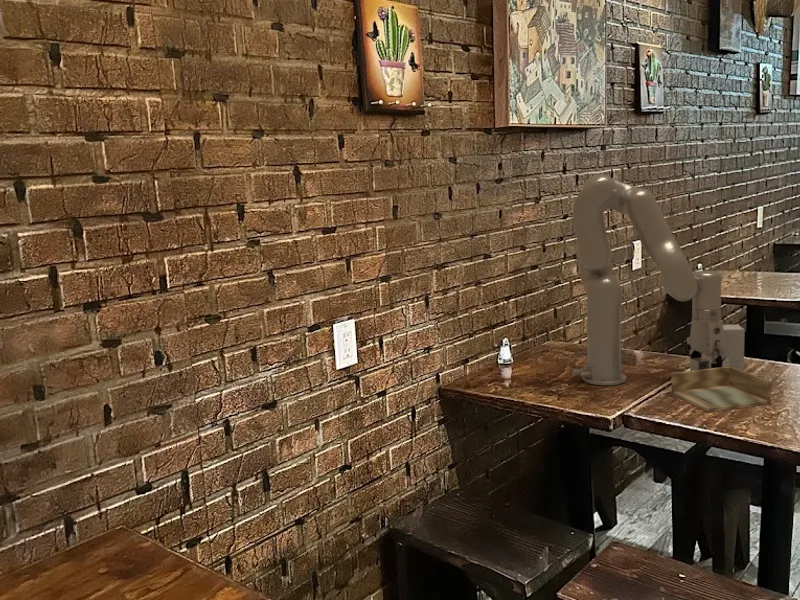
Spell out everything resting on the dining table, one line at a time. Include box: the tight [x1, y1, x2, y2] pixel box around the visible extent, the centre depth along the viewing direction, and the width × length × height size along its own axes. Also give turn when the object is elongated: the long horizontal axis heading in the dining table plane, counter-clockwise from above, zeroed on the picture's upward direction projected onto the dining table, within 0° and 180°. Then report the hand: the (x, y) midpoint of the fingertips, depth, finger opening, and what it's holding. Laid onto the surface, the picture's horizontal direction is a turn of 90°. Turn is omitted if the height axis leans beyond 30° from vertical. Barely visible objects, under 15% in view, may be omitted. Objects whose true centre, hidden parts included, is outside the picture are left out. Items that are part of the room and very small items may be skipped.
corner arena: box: [671, 366, 772, 413], centre depth 189 cm, size 18×16×6 cm
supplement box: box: [723, 324, 746, 371], centre depth 216 cm, size 7×7×13 cm
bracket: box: [689, 352, 730, 371], centre depth 209 cm, size 10×8×6 cm
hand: (705, 371), depth 207 cm, fingers open, 9 cm apart
